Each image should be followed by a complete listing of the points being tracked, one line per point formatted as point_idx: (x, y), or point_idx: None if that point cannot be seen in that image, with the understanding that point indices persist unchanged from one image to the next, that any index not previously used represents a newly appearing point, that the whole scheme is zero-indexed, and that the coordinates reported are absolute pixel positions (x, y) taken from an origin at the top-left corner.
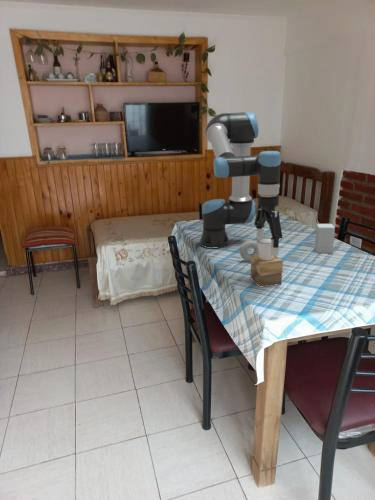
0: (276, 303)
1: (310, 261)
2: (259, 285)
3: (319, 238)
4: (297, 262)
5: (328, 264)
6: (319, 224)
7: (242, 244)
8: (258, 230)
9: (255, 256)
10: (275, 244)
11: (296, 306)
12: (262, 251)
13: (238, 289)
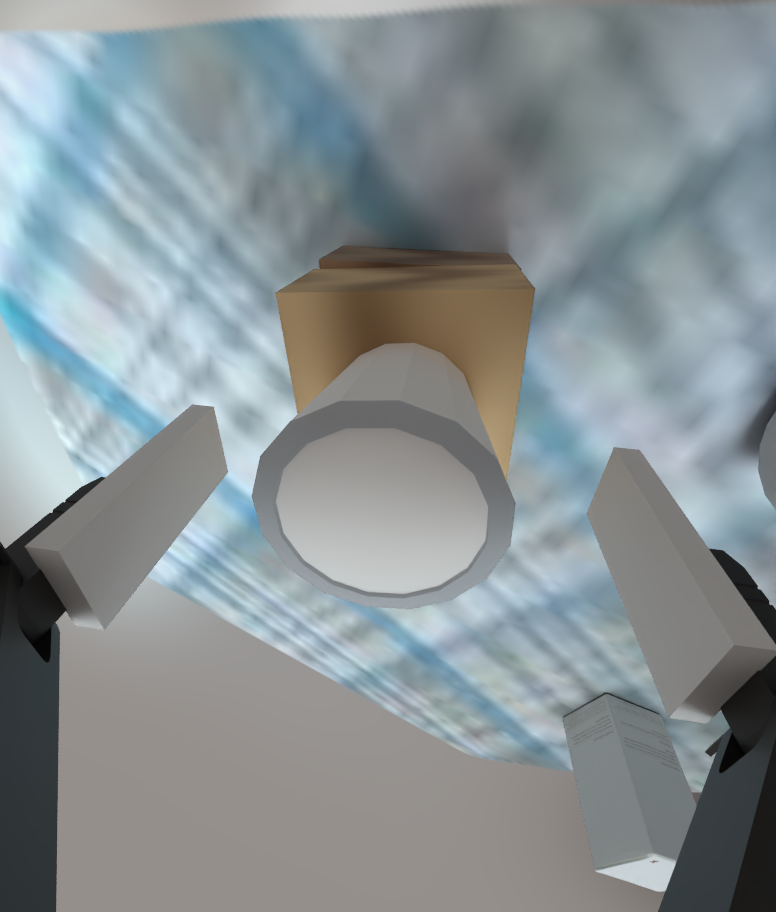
0: (115, 242)
1: (538, 632)
2: (342, 247)
3: (625, 777)
4: (563, 593)
5: (470, 655)
6: None
7: None
8: (707, 630)
9: (494, 332)
10: (60, 513)
11: (88, 330)
12: (332, 381)
13: (353, 35)
